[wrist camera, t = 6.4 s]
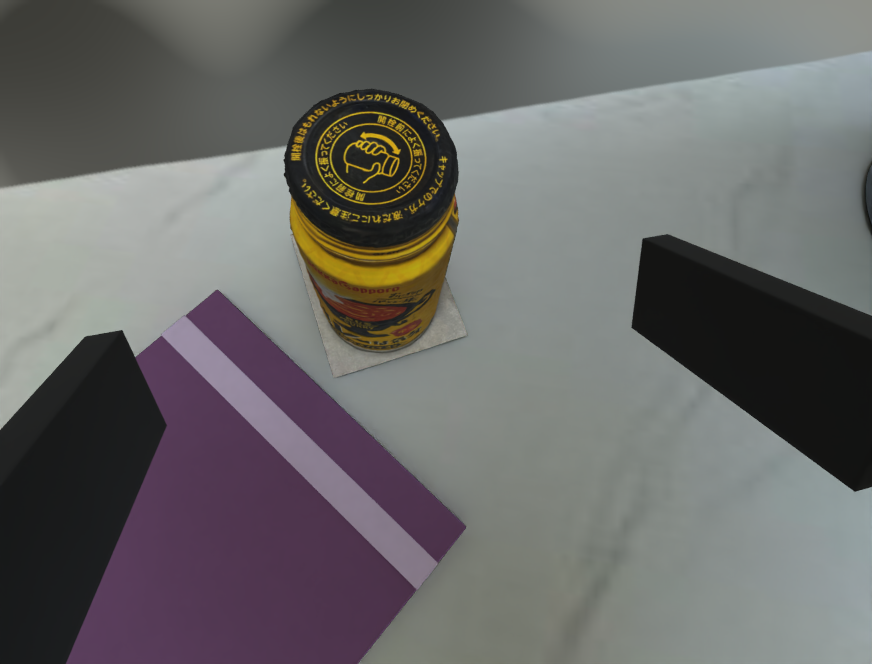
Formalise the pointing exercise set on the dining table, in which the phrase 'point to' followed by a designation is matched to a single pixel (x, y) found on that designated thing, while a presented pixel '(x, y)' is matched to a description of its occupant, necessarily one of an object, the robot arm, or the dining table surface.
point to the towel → (258, 516)
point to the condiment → (374, 225)
